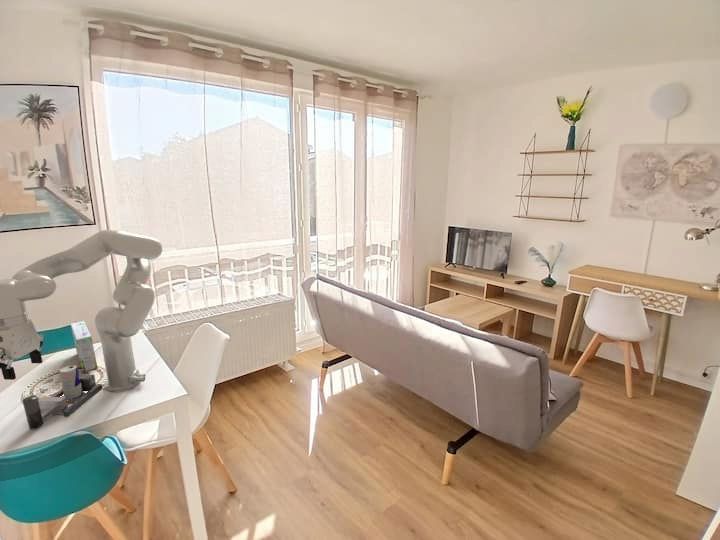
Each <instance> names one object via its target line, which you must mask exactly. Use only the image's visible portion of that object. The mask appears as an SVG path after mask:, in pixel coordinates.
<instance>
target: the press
mask: <svg viewBox="0 0 720 540" xmlns="http://www.w3.org/2000/svg"><path fill="white" fill-rule="evenodd" d="M79 376H80V381H81V386H82V391H88V392H87V393H83V396H82V397H81V398H79V399H78V400H75V401H70V402H69V401H67V404H71V405H70V406H69V405H68V408H67V409H66V410H64V411H63V414H62V415H63V417H64V418H68V417H70V416H71V415H72V414H73V413H75V412H76V411H77V410H79V408H81V407H82V406H83V405H85V404H86V403H88V402H89V400H91V398H93V397H95V396H96V394H98V393H99V392H100V391H101V390H103V384H102V383H96V382H97V381H96V378H95V374H90V373H89V374H88V373H87V374H85V373H79ZM63 394H64V392H63V387H62V388H61V389H59V390H58V391H56V392H55V393H53V395H50V397H60V396H62V395H63Z"/></svg>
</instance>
